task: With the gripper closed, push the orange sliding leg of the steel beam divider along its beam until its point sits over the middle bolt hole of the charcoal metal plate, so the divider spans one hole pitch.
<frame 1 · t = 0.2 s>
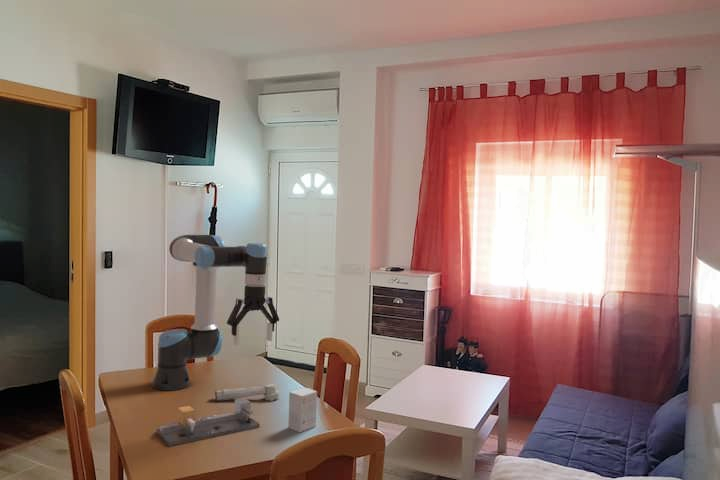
hand: (252, 342, 206), 28 cm above the table, tool pointing down, fingers open, 13 cm apart
bolt plate: (209, 429, 193), on the table
white elongated piece: (247, 400, 226), on the table
sliding leg: (188, 419, 189), point 5 cm above the table, slide at 0.0 cm
small box: (301, 427, 199), on the table
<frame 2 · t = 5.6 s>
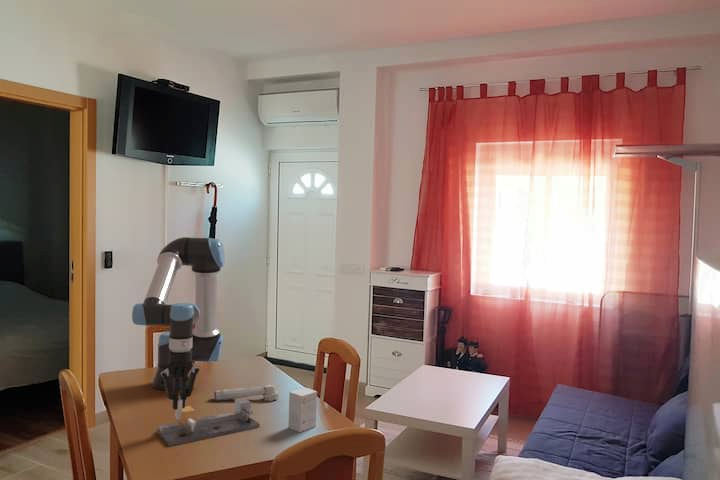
hand: (178, 417, 190), 5 cm above the table, tool pointing down, fingers closed
sliding leg: (188, 419, 190), point 5 cm above the table, slide at 0.1 cm, touching gripper
everything else where it was.
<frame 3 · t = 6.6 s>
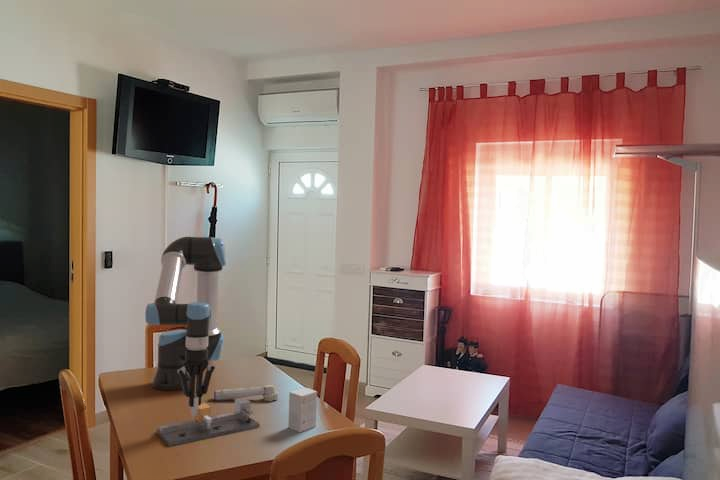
hand: (194, 414, 193), 5 cm above the table, tool pointing down, fingers closed
sliding leg: (204, 416, 193), point 5 cm above the table, slide at 5.7 cm, touching gripper
everything else where it was.
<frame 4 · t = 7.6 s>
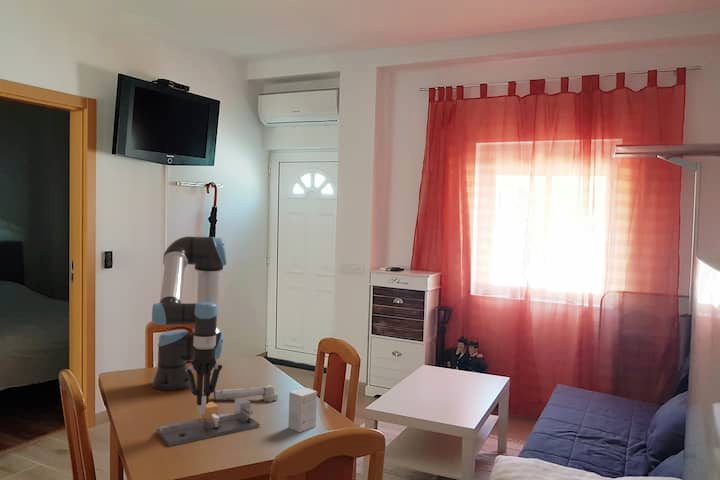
hand: (202, 413, 195), 5 cm above the table, tool pointing down, fingers closed
sliding leg: (212, 414, 195), point 5 cm above the table, slide at 8.5 cm, touching gripper
everything else where it was.
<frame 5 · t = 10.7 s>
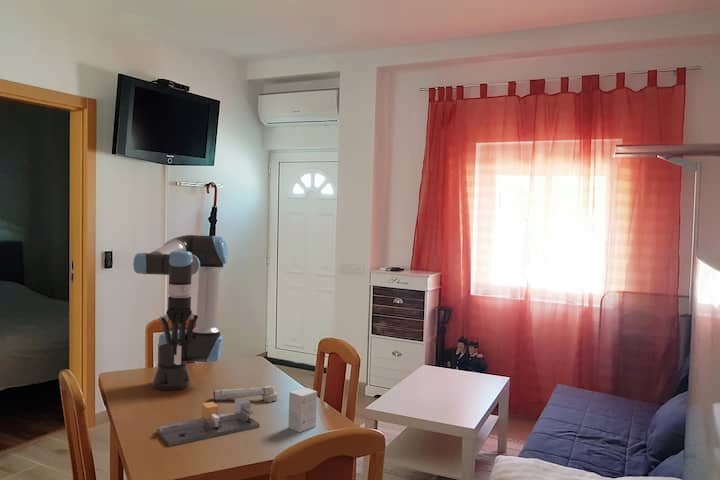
hand: (177, 363, 193), 22 cm above the table, tool pointing down, fingers closed
sliding leg: (212, 414, 195), point 5 cm above the table, slide at 8.5 cm
everything else where it was.
at the end: sliding leg slide at 8.5 cm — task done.
